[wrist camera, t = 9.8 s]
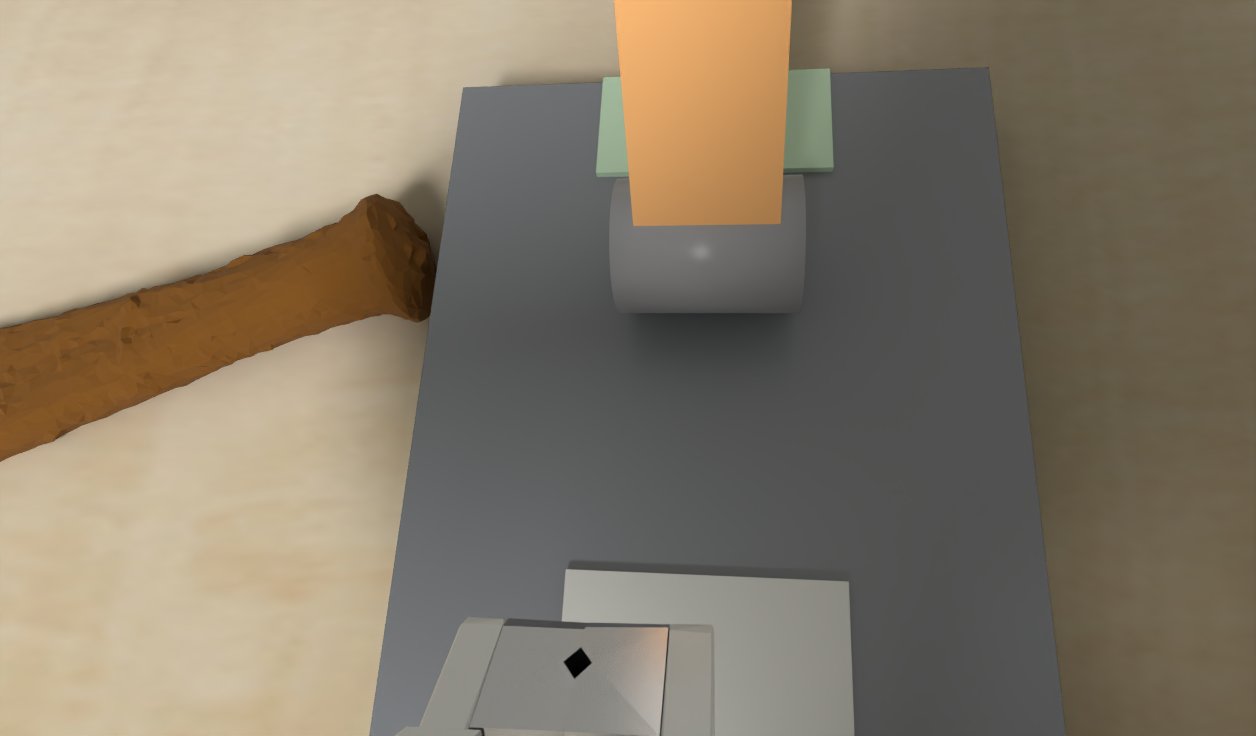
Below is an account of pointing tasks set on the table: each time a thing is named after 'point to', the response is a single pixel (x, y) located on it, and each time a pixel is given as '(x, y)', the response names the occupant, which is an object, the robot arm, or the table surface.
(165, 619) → the table surface
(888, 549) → the breaker base
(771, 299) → the lever
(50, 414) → the primitive tool
